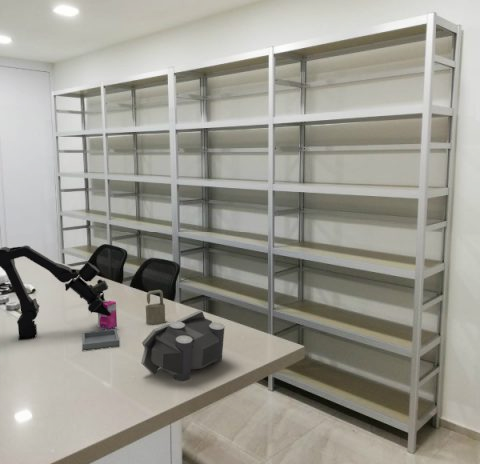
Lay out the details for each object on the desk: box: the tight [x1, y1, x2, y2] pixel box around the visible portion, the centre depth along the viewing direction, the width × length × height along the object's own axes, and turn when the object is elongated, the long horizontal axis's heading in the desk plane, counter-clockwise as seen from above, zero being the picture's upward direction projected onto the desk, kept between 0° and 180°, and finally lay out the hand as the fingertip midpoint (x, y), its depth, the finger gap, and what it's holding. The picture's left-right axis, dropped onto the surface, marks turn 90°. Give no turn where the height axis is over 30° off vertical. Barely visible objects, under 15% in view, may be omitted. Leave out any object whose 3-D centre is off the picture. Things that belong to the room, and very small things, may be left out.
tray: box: [81, 328, 120, 351], centre depth 206 cm, size 14×14×3 cm
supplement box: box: [97, 299, 118, 330], centre depth 220 cm, size 6×6×12 cm
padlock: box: [145, 289, 166, 326], centre depth 228 cm, size 4×8×15 cm, turn 116°
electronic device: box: [140, 309, 226, 382], centre depth 180 cm, size 18×21×30 cm
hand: (110, 312), depth 220 cm, fingers closed on supplement box, 8 cm apart
